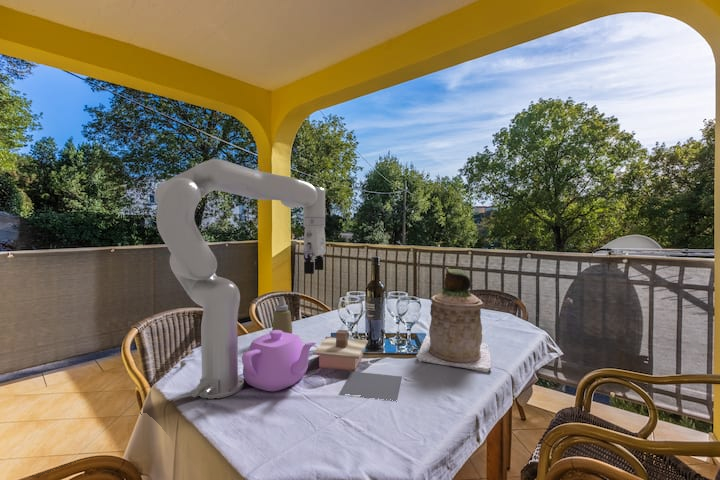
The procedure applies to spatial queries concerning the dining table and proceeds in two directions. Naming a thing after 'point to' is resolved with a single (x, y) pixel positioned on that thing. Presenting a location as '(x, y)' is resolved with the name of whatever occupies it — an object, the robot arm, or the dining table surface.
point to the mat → (372, 385)
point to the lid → (341, 346)
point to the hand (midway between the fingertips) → (314, 271)
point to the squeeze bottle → (282, 317)
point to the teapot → (275, 361)
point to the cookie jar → (456, 327)
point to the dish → (339, 362)
